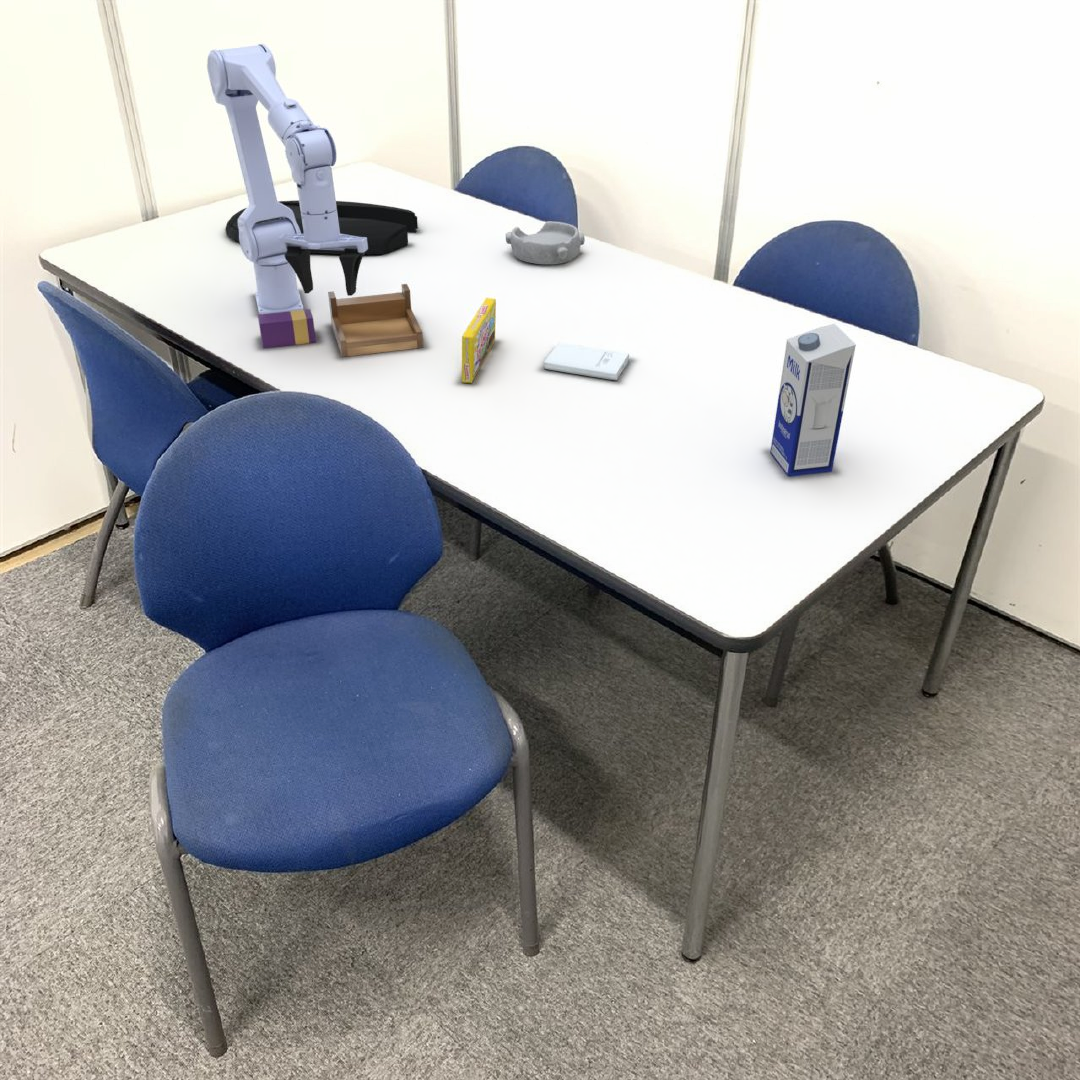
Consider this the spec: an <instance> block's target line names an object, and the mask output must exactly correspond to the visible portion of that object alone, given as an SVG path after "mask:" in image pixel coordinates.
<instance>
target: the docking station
mask: <svg viewBox="0 0 1080 1080" xmlns="http://www.w3.org/2000/svg"><path fill="white" fill-rule="evenodd" d="M277 201H278V202H279V203H281V204H283V205H285V206H287V207H288V208H290V209H291V210H292V211H293V213H294V216H295V220H296V222H297V224H298V226H299V229H300V232H301V234H304V231H303V224H302V217H301V210H300V204H299V199H298V200H280V201H279V200H277ZM336 206H337V214H338V222H339V229H340V234H345V235H351V236H357V237H366V238H367V244H368V249H367V250H366V251H365V252H364V255H381V254H382V255H383V254H388V253H389V254H390V253H391V252H394V251H396V250H399V249H402V248H404V247H406V246H408V245H409V233H414V234H415V233H417V229H419V226H418V225H419V223H418V216H417V215H416V213H415V212H414V211H412V210H410V209H405V208H400V207H395V206H389V205H383V204H376V203H375V204H374V203H365V202H357V201H344V200H336ZM246 208H247V207H244V208H242V209H241V210H238V211H237V212H236V213H234V214H233V215H232V216H231V217H230V218H229V219H228V221H227V222H226V225H225V229H224V230H225V234H226V235H227V236H228V237H229V238H230V239H231V240H233V241H237V242H240V241H239V228H238V218H239V217H240V215H241V214H242V213H243V212H244V211H245V209H246ZM279 219H280V218H273V219H268V220H263V221H258V222H256V223H255V224H259V223H264V222H269V221H274V220H279ZM343 253H345V251H344V250H320V249H310V254H327V255H328V254H329V255H330V254H331V255H333V254H334V255H341V254H343Z"/></svg>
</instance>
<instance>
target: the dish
mask: <svg viewBox="0 0 1080 1080" xmlns="http://www.w3.org/2000/svg"><path fill="white" fill-rule="evenodd" d="M505 241H506V244H508V245H510V247H511V251H512V254H513V256H514V257H515V258H516V259H518V260H520V261H523V262H526V263H529V264H537V265H559V264H564V263H568V262H571V261H572V260H574V259H575V258H577V257H578V256H579V254H580V251H581V246H583V245H584V244H585V242H586V240H585V234H584V233H583V232H581V233H580V232H579V229H578V228H577V227H576V226H575V225H574V224H570V223H566V222H562V221H551V220H548V221H546V222H545V223H544V224H543V225H542V227H541V228H540V230H539V231H537V232H535V233H533V234H527V233H525V232H524V231H523V230H521V228H520V227H518V226H516V227H514V228H513V229H512V230H511V231H508V232H506V233H505Z"/></svg>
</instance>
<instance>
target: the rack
mask: <svg viewBox="0 0 1080 1080" xmlns="http://www.w3.org/2000/svg"><path fill="white" fill-rule="evenodd" d="M327 296H328V305H329V313H330V323H331V329H332V331H333V335H334V337H335V340H336V343H337V346H338V349H339V352H340V356H341V357H342V358H345V357H353V356H363V355H370V354H371V355H372V354H379V353H389V352H396V351H405V350H414V349H422V348H424V339H423V338H424V337H423V336H424V335H423V329H422V327H421V325H420V324H419V322H418V320H417V318H416V316H415V313H414V312H413V310H412V300H411V298H412V297H411V289H410V288H409V286H408V283H402V284H401V292H391V293H383V294H373V295H372V294H371V295H363V296H354V297H352V296H351V297H345V298H344V297H343V298H337V297H336V294H335V291H334V290H333V291H328V292H327Z"/></svg>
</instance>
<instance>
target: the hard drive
mask: <svg viewBox="0 0 1080 1080" xmlns="http://www.w3.org/2000/svg"><path fill="white" fill-rule="evenodd" d="M629 361H630V353H629V352H622V351H615V350H609V349H604V348H597V347H591V346H586V345H585V346H584V345H579V344H573V343H567V342H558V343H557V344H556V345H555V347H553V349H552V350H551V352H550V353H549V354H548V356H547V357H546V358H545V360H544V361H543V369H544V370H549V371H555V372H562V373H568V374H574V375H580V376H586V377H593V378H598V379H604V380H611V381H617V380H618V379H619V377H620V376H621V374H622V372H623V371H624V369H626V366H627V365H628V363H629Z"/></svg>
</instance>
